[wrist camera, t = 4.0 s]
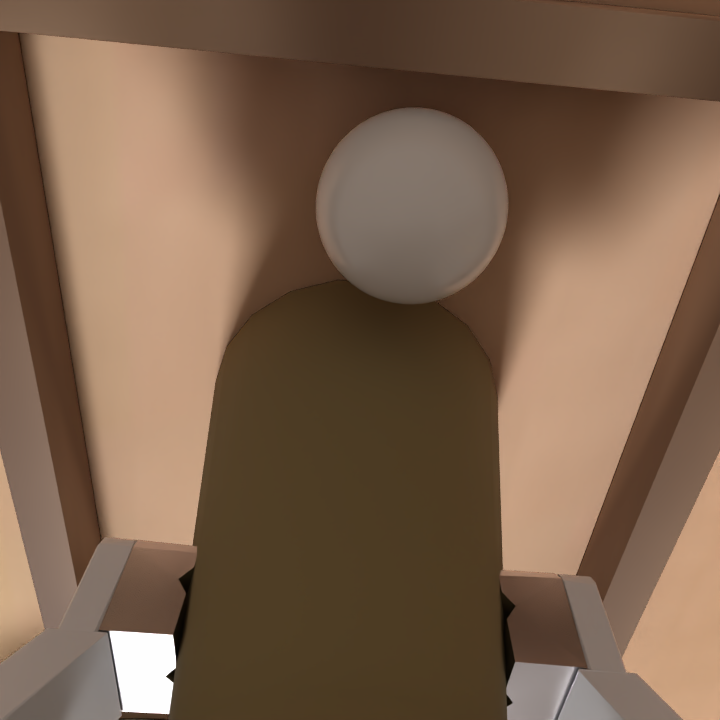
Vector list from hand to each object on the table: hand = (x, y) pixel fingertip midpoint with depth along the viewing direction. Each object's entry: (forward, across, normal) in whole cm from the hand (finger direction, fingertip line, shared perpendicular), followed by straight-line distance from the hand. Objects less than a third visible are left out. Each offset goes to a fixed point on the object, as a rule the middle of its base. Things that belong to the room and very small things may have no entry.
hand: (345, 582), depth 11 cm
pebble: (+5, 0, -5) cm, 7 cm away
